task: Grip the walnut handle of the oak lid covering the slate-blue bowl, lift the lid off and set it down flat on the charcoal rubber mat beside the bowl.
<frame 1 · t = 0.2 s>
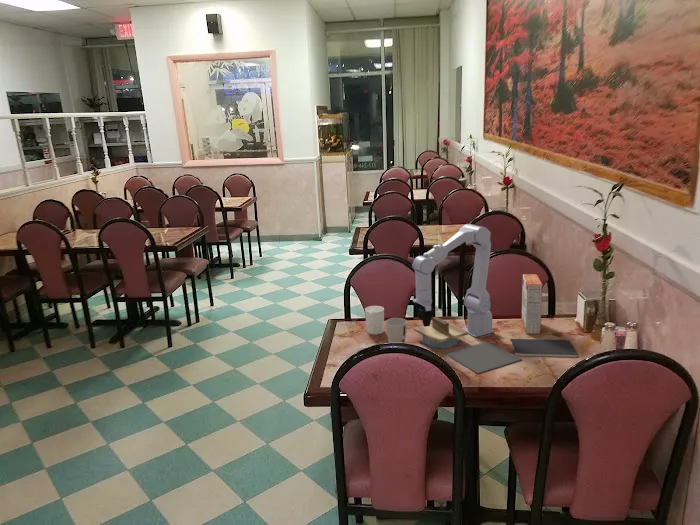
hand: (424, 322, 191), 10 cm above the table, tool pointing down, fingers open, 7 cm apart
white cup: (375, 332, 210), on the table
bowl: (440, 340, 198), on the table
notebook: (542, 350, 186), on the table
mat: (482, 357, 182), on the table
lid: (440, 332, 197), point 3 cm above the table, touching bowl
cup: (396, 346, 195), on the table
cracker box: (530, 328, 206), on the table
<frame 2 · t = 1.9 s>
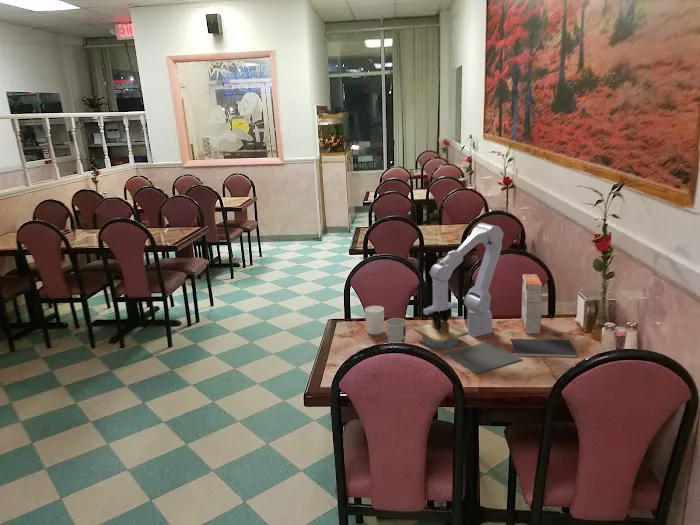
hand: (440, 328, 196), 5 cm above the table, tool pointing down, fingers closed on lid
lid: (440, 332, 197), point 3 cm above the table, touching bowl, gripper
everything else where it was.
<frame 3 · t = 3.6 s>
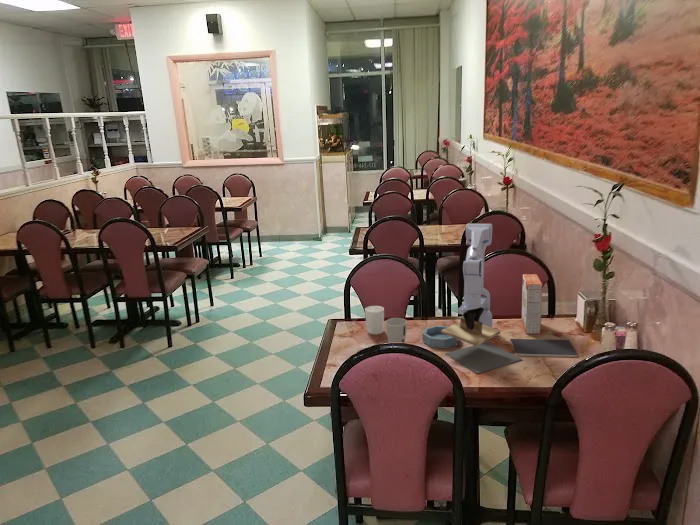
hand: (472, 327, 183), 10 cm above the table, tool pointing down, fingers closed on lid
lid: (470, 332, 184), point 8 cm above the table, touching gripper
everything else where it was.
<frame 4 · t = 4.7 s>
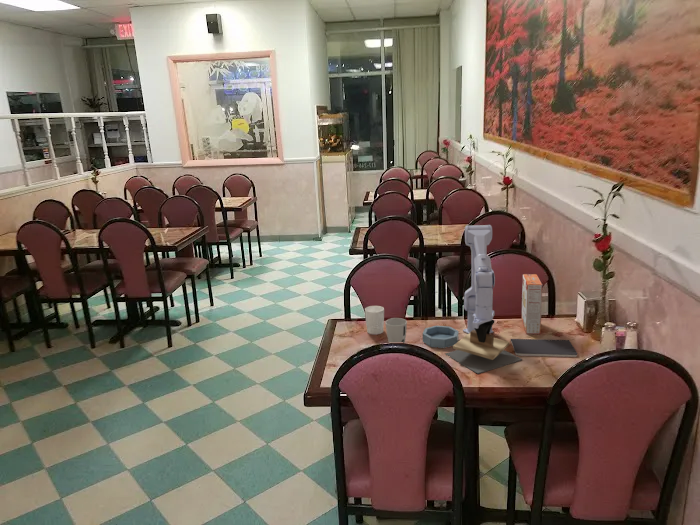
hand: (483, 340, 180), 7 cm above the table, tool pointing down, fingers closed on lid
lid: (481, 346, 181), point 4 cm above the table, touching gripper
everything else where it was.
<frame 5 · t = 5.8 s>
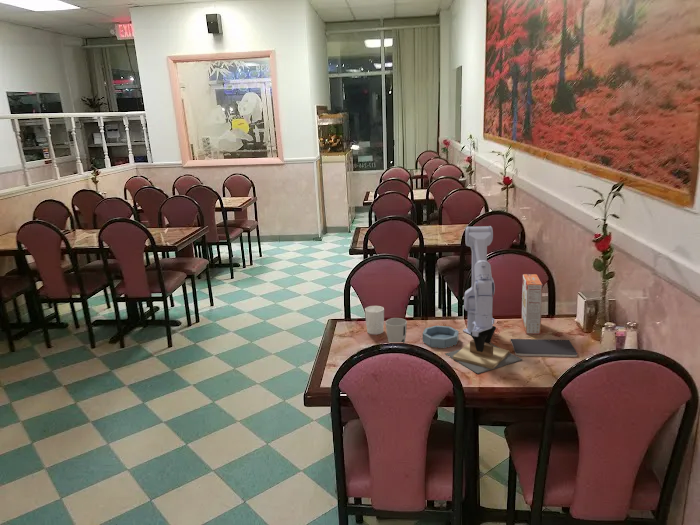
hand: (483, 348, 181), 4 cm above the table, tool pointing down, fingers open, 5 cm apart
lid: (481, 355, 182), resting on mat
everything else where it was.
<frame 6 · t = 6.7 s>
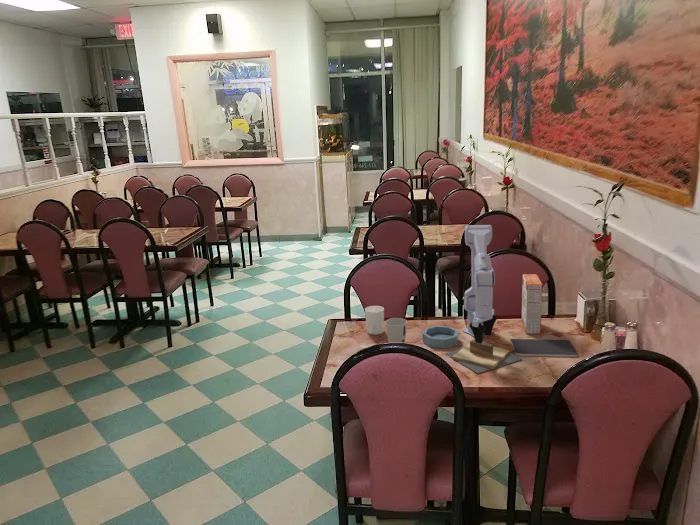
hand: (483, 339, 180), 7 cm above the table, tool pointing down, fingers open, 7 cm apart
nothing on the table moved.
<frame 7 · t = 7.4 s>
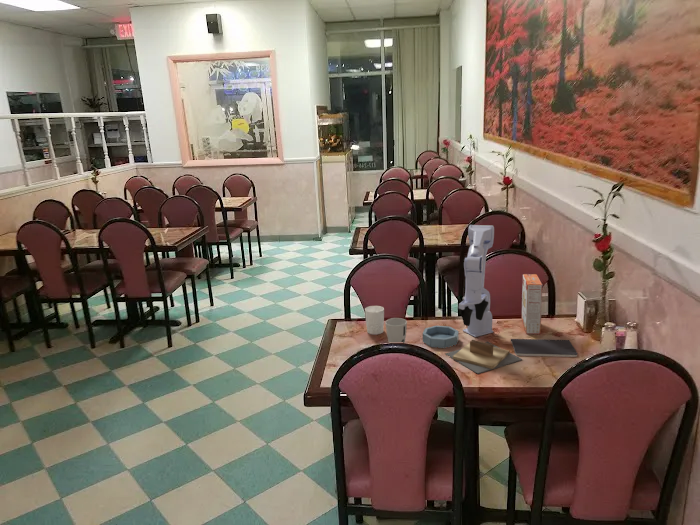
hand: (472, 322, 190), 9 cm above the table, tool pointing down, fingers open, 7 cm apart
nothing on the table moved.
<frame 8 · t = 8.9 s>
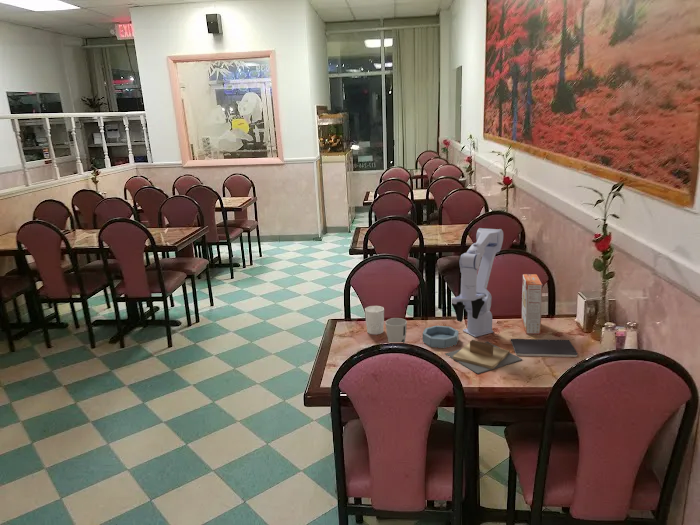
hand: (467, 319, 192), 9 cm above the table, tool pointing down, fingers open, 7 cm apart
nothing on the table moved.
at the end: lid inside the target area on the mat (0.7 cm from its centre), point 0.4 cm above the mat's base; lid tilted 0°; the gripper is holding nothing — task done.
